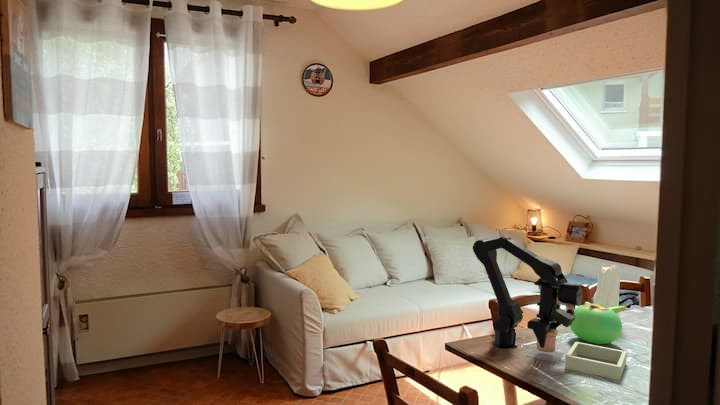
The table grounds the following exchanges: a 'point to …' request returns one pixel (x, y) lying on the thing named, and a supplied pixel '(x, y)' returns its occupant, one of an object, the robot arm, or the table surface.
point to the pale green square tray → (596, 360)
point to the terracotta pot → (549, 341)
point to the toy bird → (597, 323)
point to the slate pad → (545, 355)
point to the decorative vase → (608, 287)
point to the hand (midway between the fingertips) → (545, 344)
